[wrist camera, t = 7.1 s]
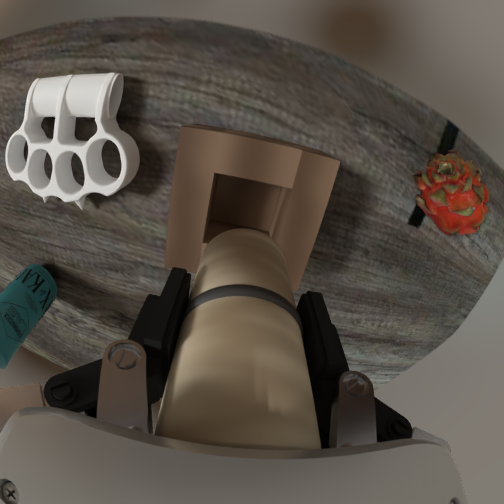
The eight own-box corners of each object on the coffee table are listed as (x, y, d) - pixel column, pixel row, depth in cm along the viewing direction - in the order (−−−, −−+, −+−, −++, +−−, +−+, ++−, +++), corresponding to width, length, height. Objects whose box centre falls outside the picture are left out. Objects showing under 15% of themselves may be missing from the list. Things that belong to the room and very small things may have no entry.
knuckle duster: (156, 76, 21) (135, 214, 27) (29, 81, 18) (22, 192, 25) (144, 72, 18) (123, 227, 24) (11, 82, 15) (6, 201, 22)
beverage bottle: (52, 300, 33) (-12, 398, 15) (26, 268, 30) (-50, 358, 12) (71, 284, 31) (-5, 395, 14) (42, 247, 28) (-49, 346, 11)
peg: (298, 237, 13) (361, 437, 4) (275, 308, 15) (291, 485, 7) (205, 218, 13) (135, 421, 4) (194, 294, 15) (154, 472, 6)
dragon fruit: (392, 150, 25) (449, 189, 29) (393, 224, 24) (450, 251, 27) (451, 121, 17) (499, 174, 20) (464, 208, 16) (506, 244, 19)
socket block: (320, 150, 24) (340, 161, 19) (288, 258, 29) (296, 291, 24) (196, 123, 23) (181, 126, 17) (179, 237, 28) (164, 267, 23)
